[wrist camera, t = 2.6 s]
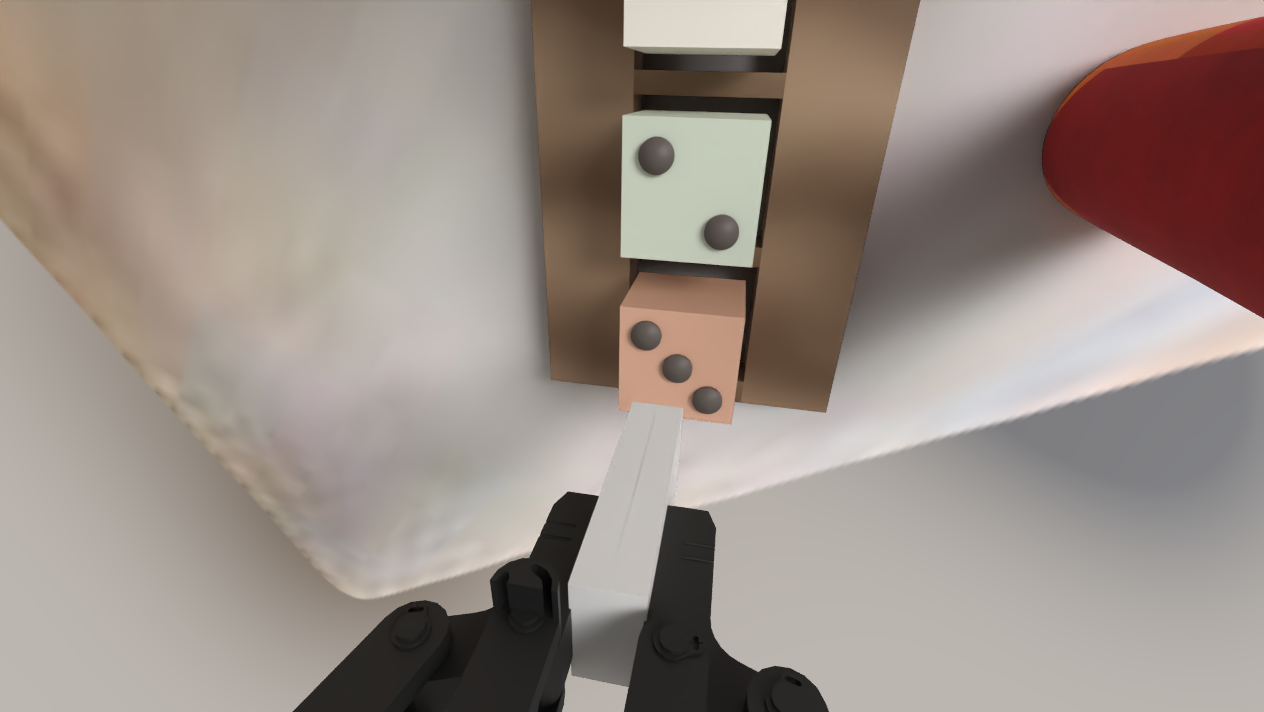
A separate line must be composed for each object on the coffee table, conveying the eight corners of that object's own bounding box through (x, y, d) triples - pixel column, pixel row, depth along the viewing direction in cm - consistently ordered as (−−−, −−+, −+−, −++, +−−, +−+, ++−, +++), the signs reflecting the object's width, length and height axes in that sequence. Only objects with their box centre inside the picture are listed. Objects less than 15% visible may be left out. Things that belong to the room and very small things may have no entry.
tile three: (639, 271, 22) (618, 308, 19) (745, 280, 22) (745, 320, 18) (637, 363, 24) (617, 413, 21) (733, 374, 24) (731, 427, 20)
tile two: (644, 109, 19) (621, 115, 16) (767, 113, 19) (771, 120, 15) (641, 229, 21) (619, 259, 18) (751, 237, 21) (752, 269, 17)
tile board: (542, -142, 19) (521, -166, 17) (940, -160, 16) (963, -189, 15) (563, 361, 28) (551, 379, 26) (820, 390, 26) (826, 412, 24)
